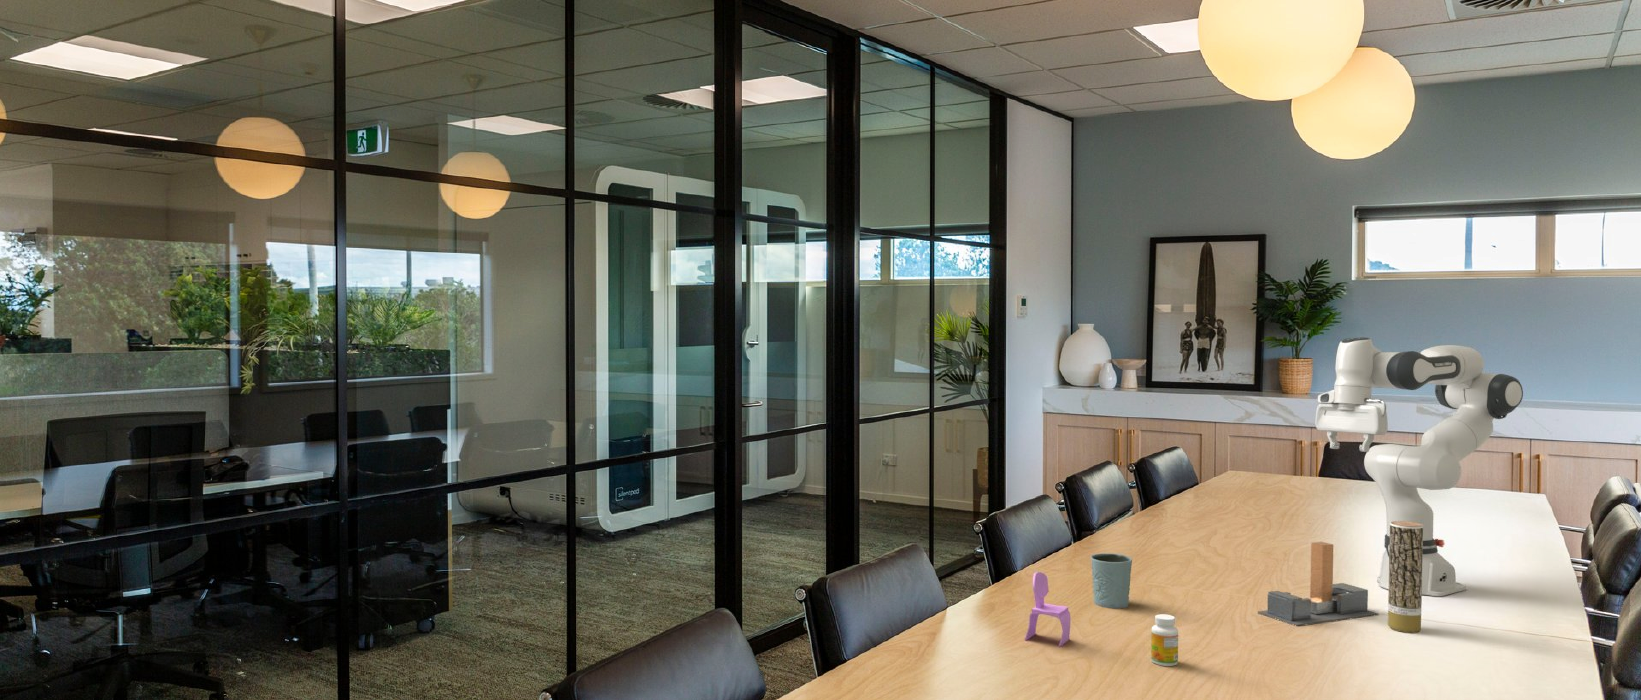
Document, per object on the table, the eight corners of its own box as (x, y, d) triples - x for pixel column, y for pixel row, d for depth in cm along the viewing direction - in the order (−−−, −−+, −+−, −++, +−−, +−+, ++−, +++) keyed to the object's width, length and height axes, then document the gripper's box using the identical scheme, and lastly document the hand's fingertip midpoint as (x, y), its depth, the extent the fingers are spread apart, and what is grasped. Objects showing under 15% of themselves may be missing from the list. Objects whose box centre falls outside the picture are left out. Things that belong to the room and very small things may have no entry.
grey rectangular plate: (1337, 602, 265) (1337, 601, 265) (1378, 614, 254) (1378, 613, 254) (1257, 613, 255) (1257, 611, 255) (1296, 626, 244) (1296, 624, 244)
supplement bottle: (1146, 658, 219) (1147, 613, 219) (1171, 658, 220) (1171, 612, 219) (1157, 666, 214) (1157, 620, 214) (1182, 666, 214) (1182, 620, 214)
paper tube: (1425, 634, 238) (1427, 527, 238) (1393, 632, 240) (1395, 525, 239) (1414, 626, 245) (1416, 521, 244) (1383, 624, 246) (1385, 520, 246)
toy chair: (1060, 648, 226) (1061, 580, 226) (1022, 641, 231) (1023, 575, 230) (1072, 638, 233) (1073, 573, 233) (1035, 632, 238) (1036, 568, 237)
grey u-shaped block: (1342, 603, 263) (1342, 582, 263) (1367, 611, 256) (1367, 589, 256) (1316, 607, 259) (1316, 586, 259) (1341, 614, 253) (1341, 593, 252)
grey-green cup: (1134, 601, 265) (1134, 555, 265) (1128, 611, 256) (1128, 563, 256) (1094, 597, 269) (1094, 551, 269) (1087, 606, 260) (1087, 559, 260)
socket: (1286, 611, 256) (1286, 589, 256) (1310, 619, 249) (1311, 596, 249) (1267, 613, 253) (1267, 591, 253) (1291, 621, 246) (1291, 599, 246)
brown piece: (1348, 604, 261) (1349, 538, 261) (1360, 608, 258) (1362, 541, 257) (1304, 610, 255) (1305, 543, 255) (1316, 614, 252) (1317, 546, 252)
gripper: (1395, 400, 263) (1392, 454, 262) (1330, 397, 282) (1327, 447, 281) (1376, 398, 260) (1373, 452, 260) (1312, 395, 280) (1309, 446, 279)
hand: (1349, 450), depth 271 cm, fingers open, 8 cm apart
